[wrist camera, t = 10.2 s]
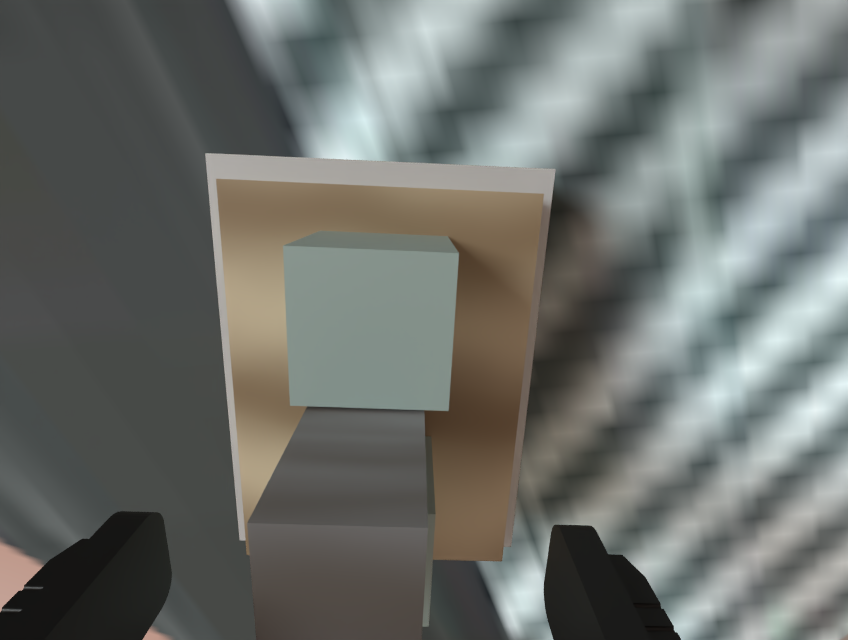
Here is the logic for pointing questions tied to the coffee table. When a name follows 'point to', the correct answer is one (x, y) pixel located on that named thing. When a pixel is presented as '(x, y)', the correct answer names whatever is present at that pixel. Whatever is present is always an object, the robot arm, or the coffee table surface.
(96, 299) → the coffee table surface
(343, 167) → the block
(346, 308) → the block
